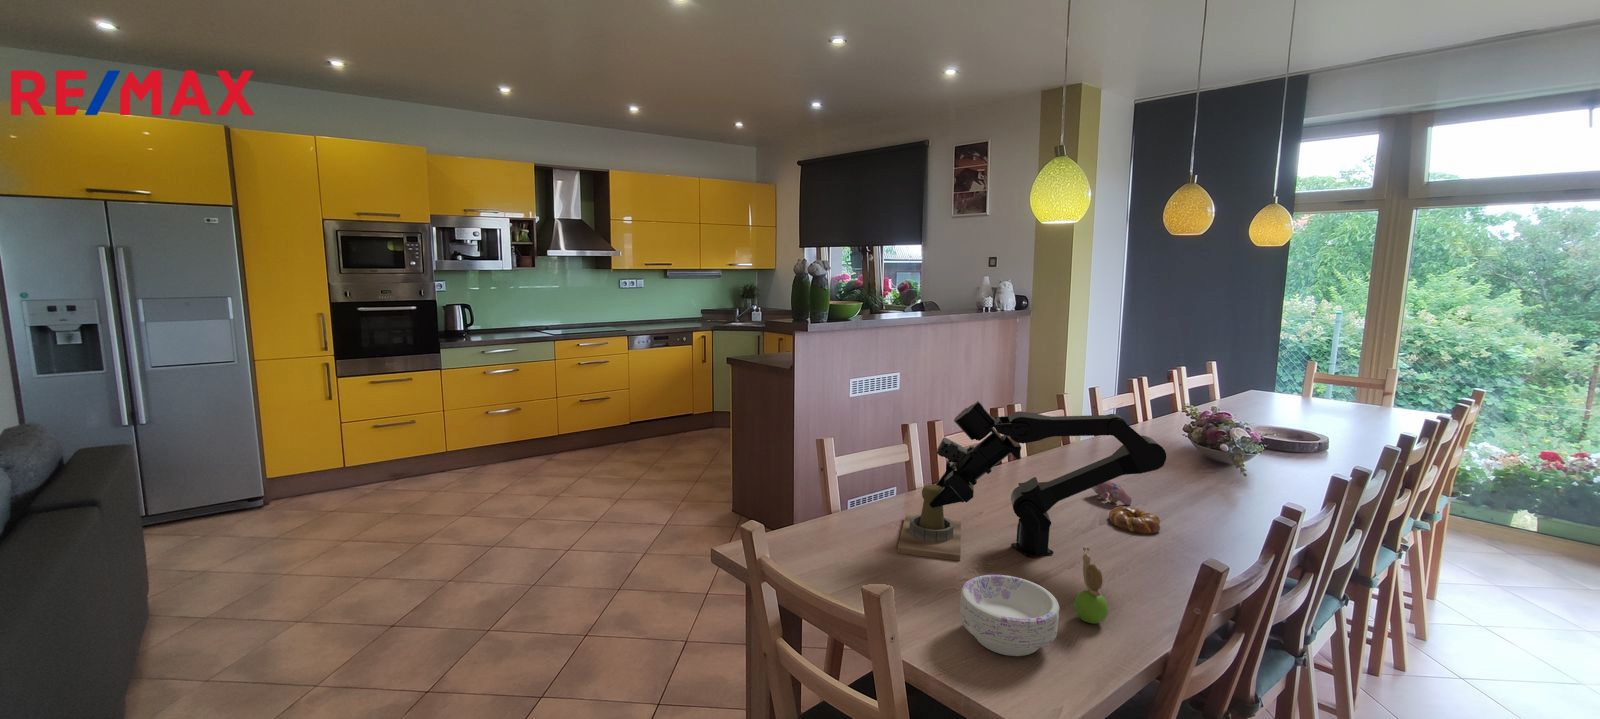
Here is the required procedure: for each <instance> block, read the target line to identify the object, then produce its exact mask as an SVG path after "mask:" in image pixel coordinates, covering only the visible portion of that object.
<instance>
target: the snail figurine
mask: <svg viewBox="0 0 1600 719" xmlns="http://www.w3.org/2000/svg"><path fill="white" fill-rule="evenodd" d="M1090 550H1091V549H1090V547H1083V548H1082V551H1083V552H1085V551H1087V552H1089V551H1090ZM1082 561H1083V563H1082V564H1083V565H1082V574H1083V581H1084V584H1085V587H1086V590H1082V591H1081V592H1079V593H1078V594H1077V595H1076V596H1075V599H1074V602H1073V606H1074V611H1075V613H1076V615H1077V616H1078V617H1079V618H1080V620H1082V621H1083V622H1084V623H1085V622H1086V623H1088V624H1095V625H1096V624H1099V623H1101V622H1103V621H1105V619H1106V618H1107V617H1108V614H1109V605H1108V601H1107V600H1106V598H1105V597H1104V596H1103V595H1102V593H1101V592H1100V589H1101V588H1102V585H1103V573H1102V570H1101V568H1100V566H1098V565H1097V564H1095V563H1091V561H1092V558H1091V556H1090V555H1089V553H1083V555H1082Z"/></svg>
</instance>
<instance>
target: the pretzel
mask: <svg viewBox="0 0 1600 719" xmlns="http://www.w3.org/2000/svg"><path fill="white" fill-rule="evenodd" d="M1108 519H1109V521H1110V523H1111V524H1112V525H1113V526H1116V527H1118V528H1119V529H1120V530H1123V531H1126V532H1132V533H1136V534H1144V535H1145V534H1156V533H1158V532H1160V530H1161V526H1160V524H1161V520H1160V517H1159V516H1157V515H1156V514H1155V513H1152V512H1146V511H1145V510H1143V509H1141V508H1139V507H1129V506H1127V505H1126V506H1123V505H1122V506H1121V505H1120V506H1116V507H1114V508H1112V509H1111V510H1110V512H1109V514H1108Z"/></svg>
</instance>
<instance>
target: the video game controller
mask: <svg viewBox="0 0 1600 719" xmlns="http://www.w3.org/2000/svg"><path fill="white" fill-rule="evenodd" d="M1091 489H1092V490H1093V491H1094V493H1096V494H1097V495H1098V497H1099V499H1102V500H1106V499H1107V498H1108V500H1109V502H1111V503H1112V504H1116V503H1117V502H1118V501H1119V502H1120V503H1121V504H1123V505H1126V506H1130V505H1131V504H1132V502H1133V501H1132V497H1131V496H1130V494H1128V493H1127V492H1126V490H1125V489H1124V488H1123V487H1122V486H1121V485H1120V484H1116V483H1115V482H1114V481H1112V480H1109V481H1107V482H1104V483H1102V484H1100V485H1097V486H1095V487H1092V488H1091Z"/></svg>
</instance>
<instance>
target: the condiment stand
mask: <svg viewBox="0 0 1600 719" xmlns="http://www.w3.org/2000/svg"><path fill="white" fill-rule="evenodd" d="M920 518H921V514H919V515H913V514H905V516H904V519H903V520H904V522H903V525H902V529H901V533H900V537H899V541H898V544H897V553H898V554H905V555H914V556H920V557H927V558H928V557H929V558H935V559H943V560H952V561H959V562H961V553H962V552H961V550H962V549H961V548H962V546H961V543H962V541H961V540H962V520H958V519H950V518H946V517H944V526H945V529H940V530H932V529H925V528H922V527H919V523H920Z"/></svg>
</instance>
